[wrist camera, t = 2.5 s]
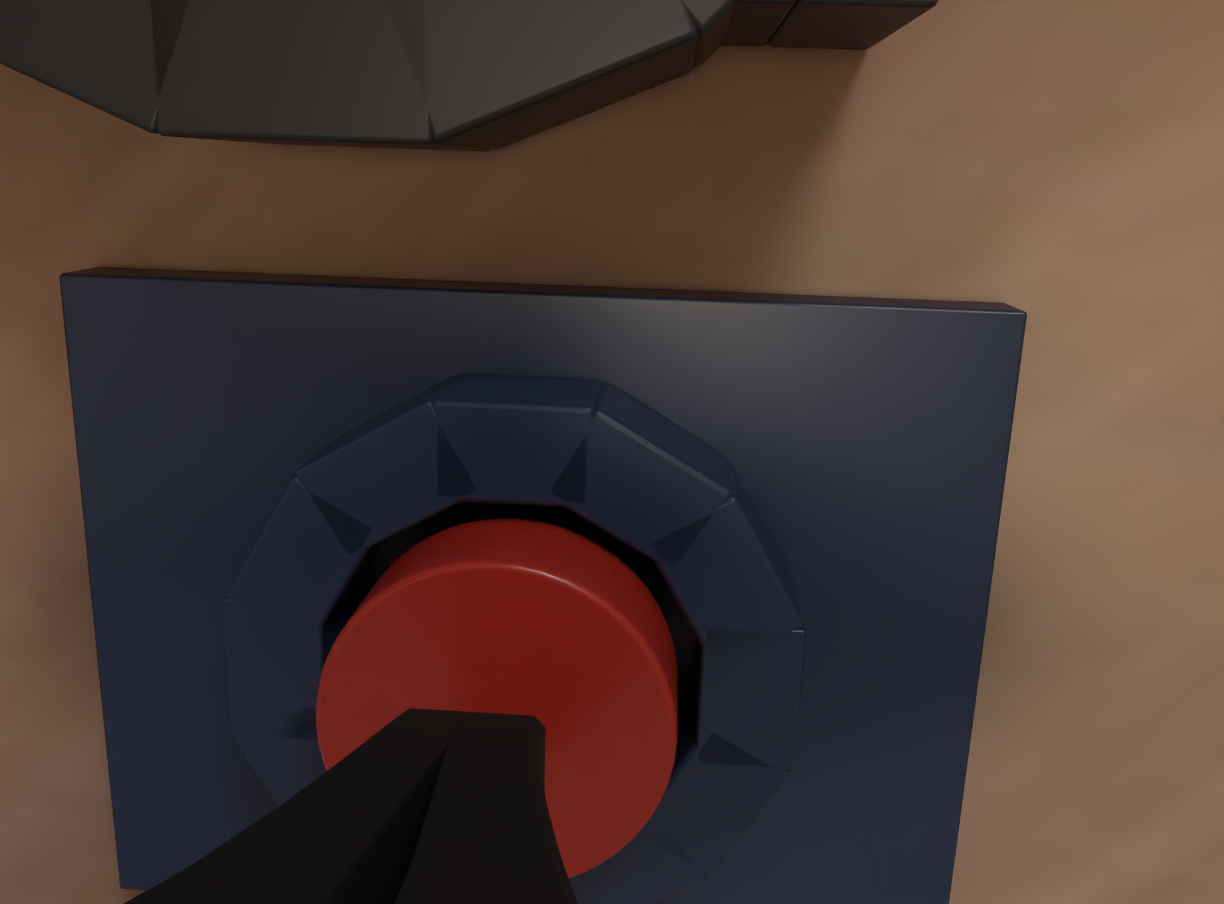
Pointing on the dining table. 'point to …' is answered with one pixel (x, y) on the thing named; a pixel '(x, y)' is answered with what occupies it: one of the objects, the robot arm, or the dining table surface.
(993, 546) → the control block
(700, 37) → the cup holder
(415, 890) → the robot arm
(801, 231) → the dining table surface
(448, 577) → the release button
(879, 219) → the dining table surface
